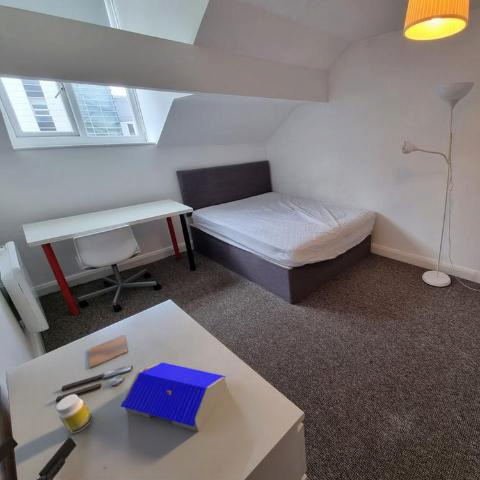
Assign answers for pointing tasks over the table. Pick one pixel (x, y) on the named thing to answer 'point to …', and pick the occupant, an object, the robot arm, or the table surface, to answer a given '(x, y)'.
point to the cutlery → (113, 382)
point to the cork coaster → (107, 351)
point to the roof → (174, 394)
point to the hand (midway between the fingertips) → (43, 440)
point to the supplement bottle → (73, 413)
